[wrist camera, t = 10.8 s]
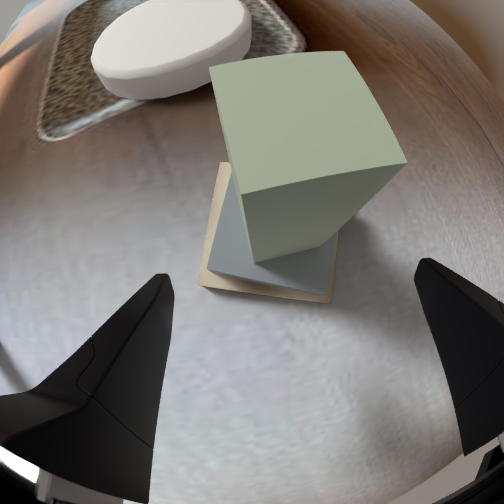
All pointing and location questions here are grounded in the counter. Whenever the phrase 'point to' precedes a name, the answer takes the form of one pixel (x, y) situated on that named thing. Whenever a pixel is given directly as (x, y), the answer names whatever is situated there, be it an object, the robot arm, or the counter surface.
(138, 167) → the counter surface
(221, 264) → the tower middle
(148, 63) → the container
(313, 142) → the pillar block
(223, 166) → the tower base
